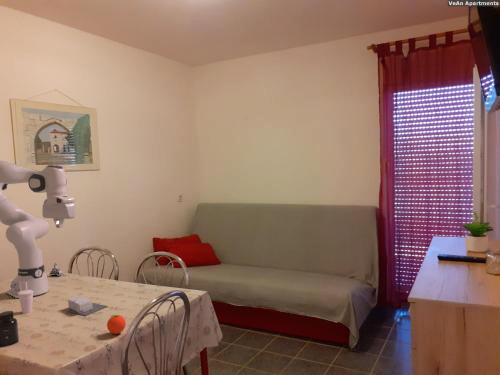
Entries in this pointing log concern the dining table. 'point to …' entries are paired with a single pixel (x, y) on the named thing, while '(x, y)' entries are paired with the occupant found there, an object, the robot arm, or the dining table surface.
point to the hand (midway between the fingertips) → (59, 227)
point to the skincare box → (80, 304)
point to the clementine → (116, 324)
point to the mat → (95, 308)
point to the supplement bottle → (8, 329)
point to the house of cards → (56, 271)
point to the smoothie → (26, 300)
